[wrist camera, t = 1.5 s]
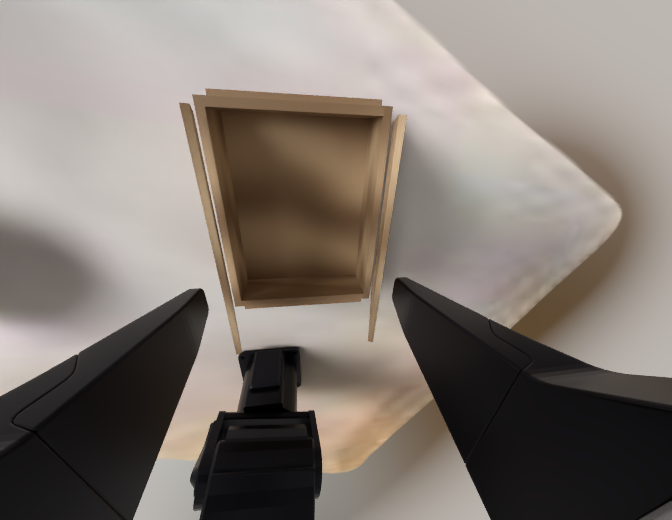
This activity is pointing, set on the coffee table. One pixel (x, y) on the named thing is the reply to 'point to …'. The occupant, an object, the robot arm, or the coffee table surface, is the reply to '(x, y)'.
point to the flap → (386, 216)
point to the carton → (295, 192)
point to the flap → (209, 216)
